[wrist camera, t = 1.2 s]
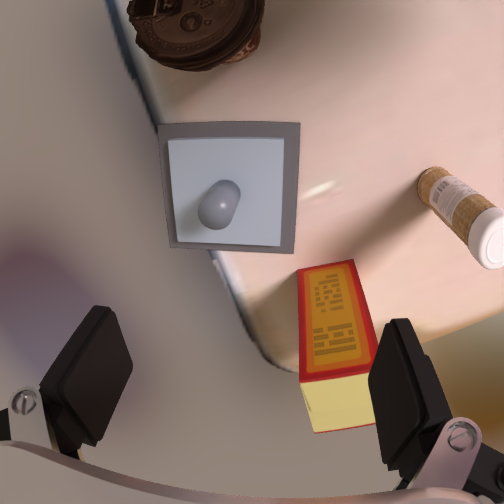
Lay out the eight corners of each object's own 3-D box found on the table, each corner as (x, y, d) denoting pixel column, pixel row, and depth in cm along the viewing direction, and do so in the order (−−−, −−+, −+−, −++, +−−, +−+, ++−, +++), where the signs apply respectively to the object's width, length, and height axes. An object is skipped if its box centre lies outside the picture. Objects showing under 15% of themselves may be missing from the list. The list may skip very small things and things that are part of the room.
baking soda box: (359, 319, 39) (380, 426, 25) (310, 328, 40) (314, 436, 26) (353, 258, 34) (384, 369, 21) (297, 269, 36) (299, 384, 22)
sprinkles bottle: (430, 212, 30) (489, 282, 19) (408, 183, 29) (470, 245, 18) (458, 187, 28) (528, 246, 17) (438, 156, 27) (512, 204, 16)
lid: (172, 138, 29) (147, 151, 24) (284, 137, 28) (283, 150, 23) (181, 236, 35) (162, 266, 29) (280, 240, 34) (278, 272, 28)
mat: (158, 124, 29) (157, 125, 29) (300, 122, 28) (300, 123, 27) (171, 245, 36) (170, 247, 36) (293, 251, 35) (293, 253, 34)
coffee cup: (165, 35, 24) (93, 14, 13) (227, -20, 21) (190, -77, 10) (224, 91, 27) (181, 95, 16) (290, 37, 24) (294, 0, 12)
